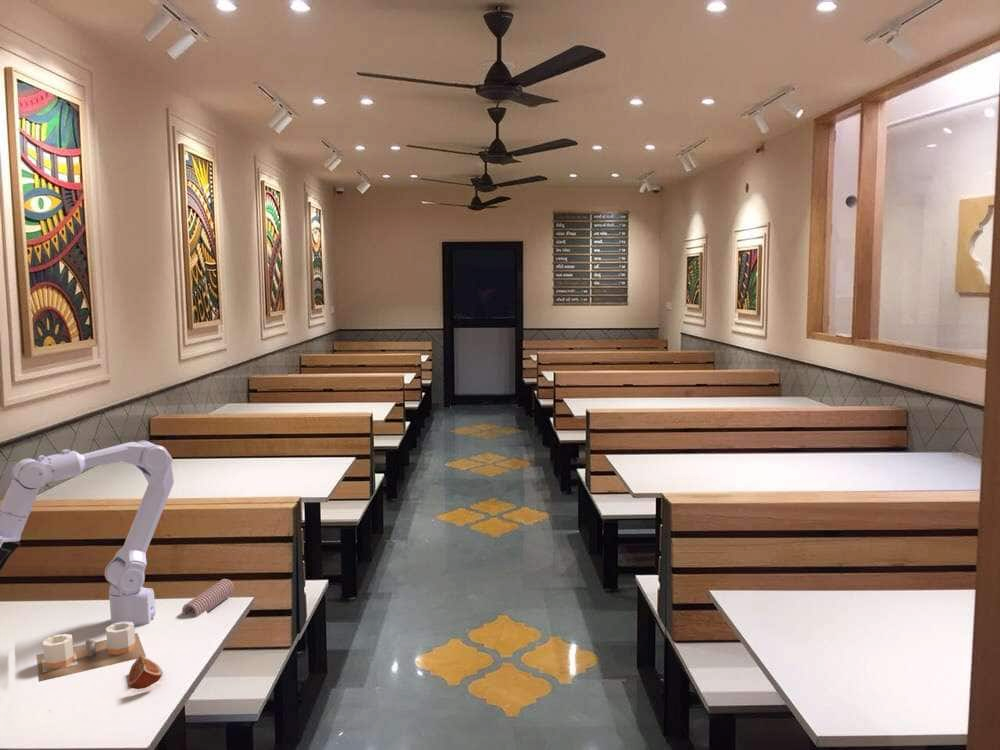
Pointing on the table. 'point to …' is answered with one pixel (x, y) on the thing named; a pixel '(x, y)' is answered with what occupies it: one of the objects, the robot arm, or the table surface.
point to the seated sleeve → (120, 638)
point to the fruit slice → (143, 673)
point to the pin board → (89, 659)
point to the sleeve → (58, 651)
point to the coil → (210, 597)
